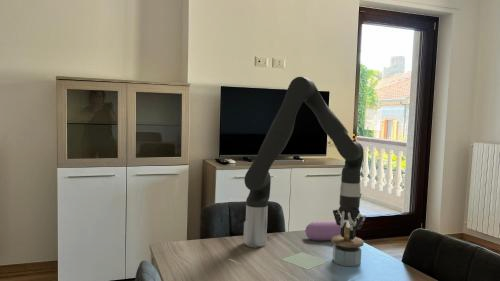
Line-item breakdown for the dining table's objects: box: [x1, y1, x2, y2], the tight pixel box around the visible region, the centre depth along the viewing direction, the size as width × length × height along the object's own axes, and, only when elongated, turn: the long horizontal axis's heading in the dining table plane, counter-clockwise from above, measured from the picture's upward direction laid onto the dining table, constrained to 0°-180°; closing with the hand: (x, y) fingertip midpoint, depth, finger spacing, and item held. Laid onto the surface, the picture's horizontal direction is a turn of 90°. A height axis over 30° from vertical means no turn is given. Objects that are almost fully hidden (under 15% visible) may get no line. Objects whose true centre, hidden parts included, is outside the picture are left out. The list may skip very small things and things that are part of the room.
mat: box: [280, 251, 329, 270], centre depth 158 cm, size 13×13×1 cm
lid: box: [331, 225, 365, 248], centre depth 157 cm, size 12×12×6 cm
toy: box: [305, 221, 349, 241], centre depth 185 cm, size 8×9×20 cm
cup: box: [332, 244, 362, 267], centre depth 158 cm, size 10×10×6 cm
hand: (347, 237), depth 157 cm, fingers closed on lid, 3 cm apart
